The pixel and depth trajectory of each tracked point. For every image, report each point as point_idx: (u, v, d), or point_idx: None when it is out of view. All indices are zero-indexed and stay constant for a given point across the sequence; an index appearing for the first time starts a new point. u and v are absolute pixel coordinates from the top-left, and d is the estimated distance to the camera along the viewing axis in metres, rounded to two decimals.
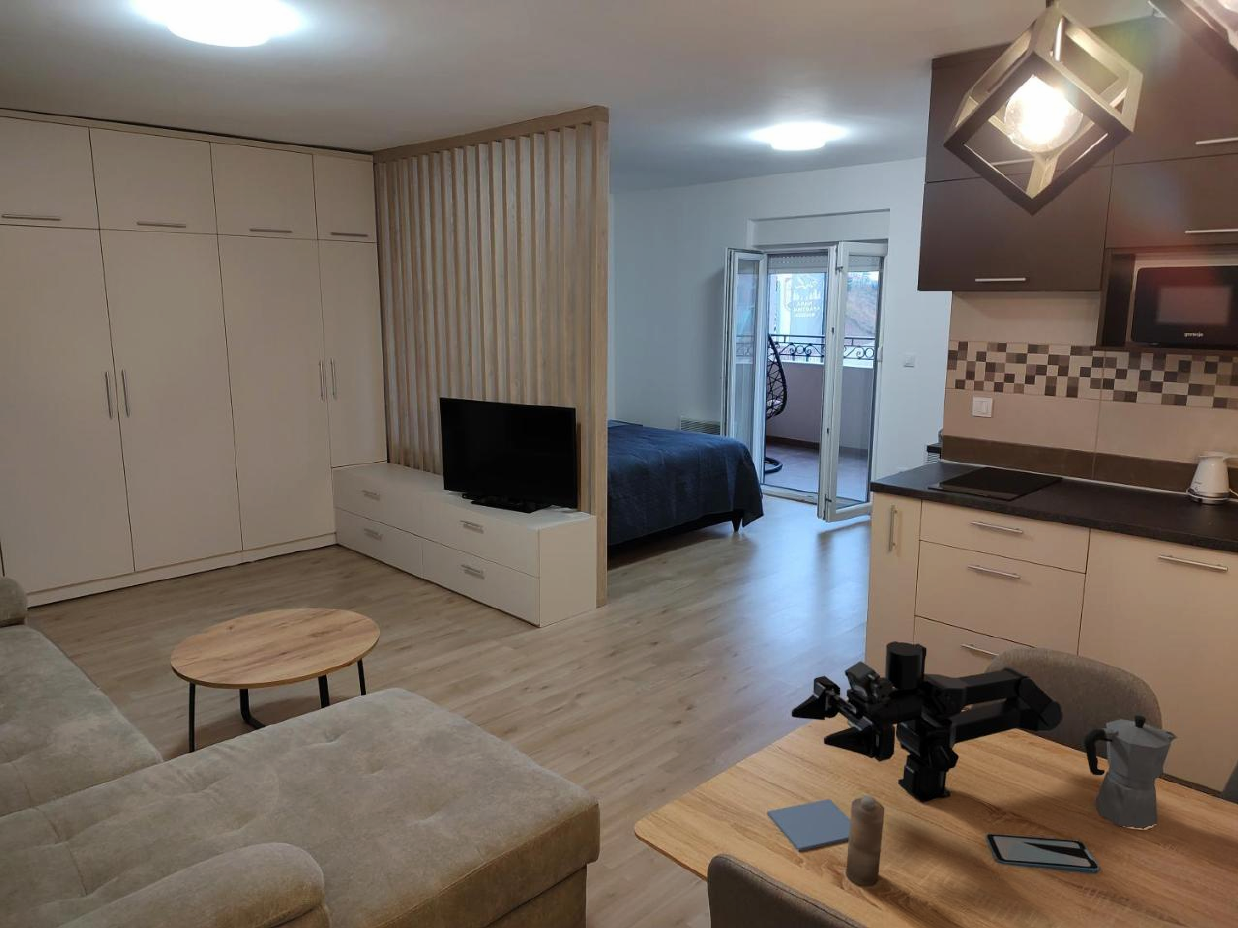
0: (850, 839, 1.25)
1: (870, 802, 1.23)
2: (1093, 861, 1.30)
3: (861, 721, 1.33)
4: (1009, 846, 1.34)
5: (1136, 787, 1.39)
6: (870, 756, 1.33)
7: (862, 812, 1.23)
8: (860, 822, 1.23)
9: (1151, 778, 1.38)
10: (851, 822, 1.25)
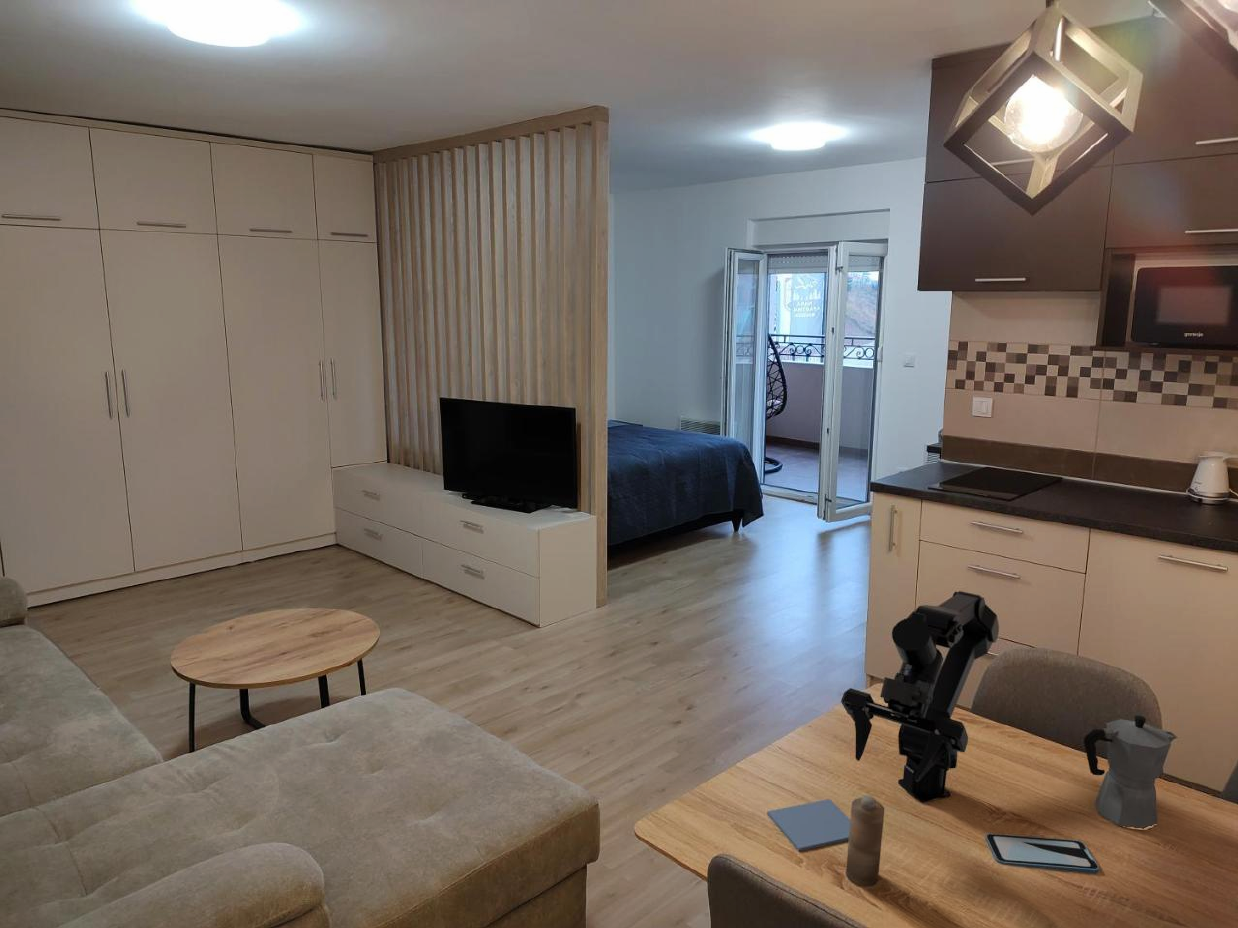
0: (850, 839, 1.25)
1: (870, 802, 1.23)
2: (1093, 861, 1.30)
3: (932, 738, 1.28)
4: (1009, 846, 1.34)
5: (1136, 787, 1.39)
6: (952, 753, 1.30)
7: (862, 812, 1.23)
8: (860, 822, 1.23)
9: (1151, 778, 1.38)
10: (851, 822, 1.25)
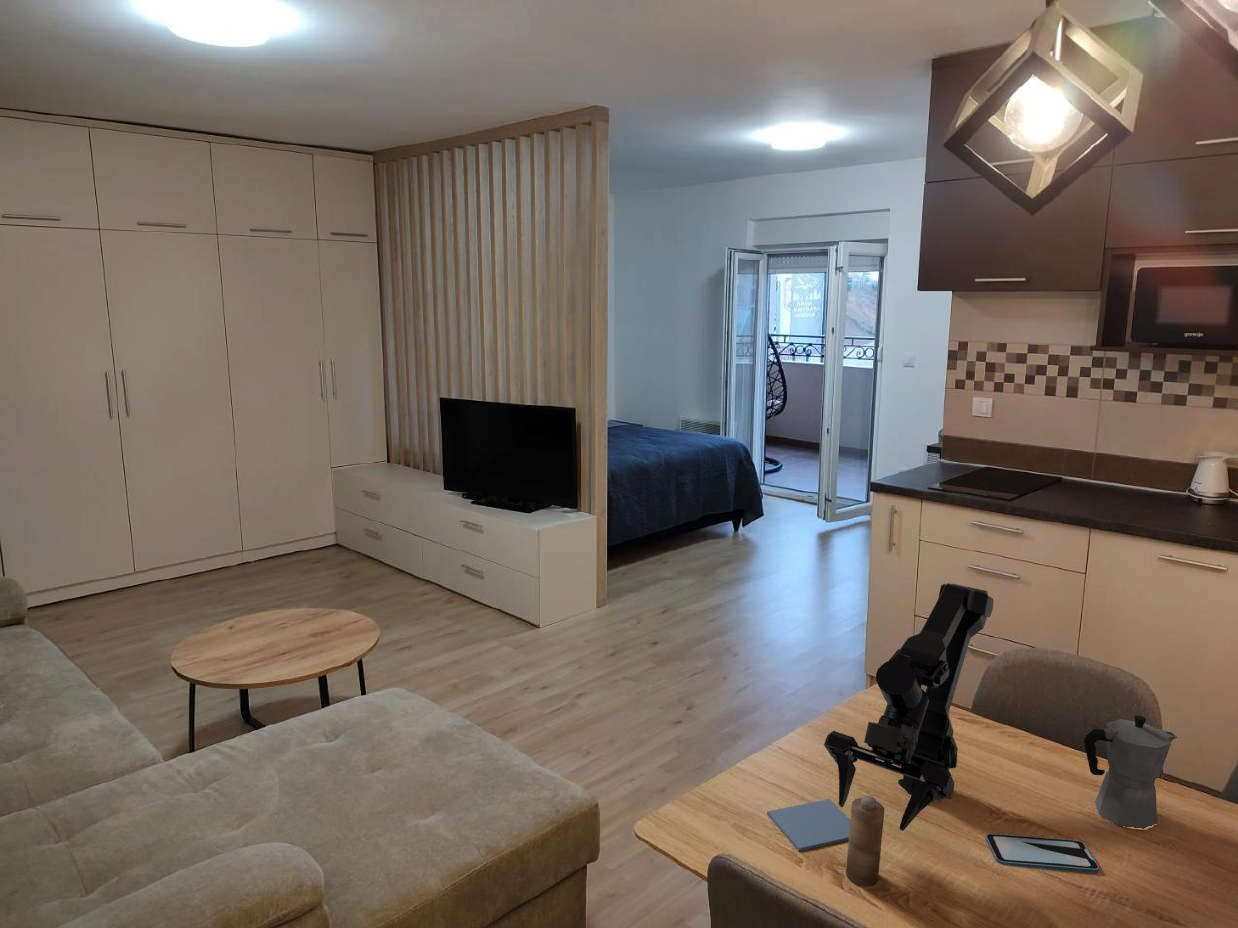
0: (850, 839, 1.25)
1: (870, 802, 1.23)
2: (1093, 861, 1.30)
3: (917, 785, 1.24)
4: (1009, 846, 1.34)
5: (1136, 787, 1.39)
6: (938, 800, 1.26)
7: (862, 812, 1.23)
8: (860, 822, 1.23)
9: (1151, 778, 1.38)
10: (851, 822, 1.25)
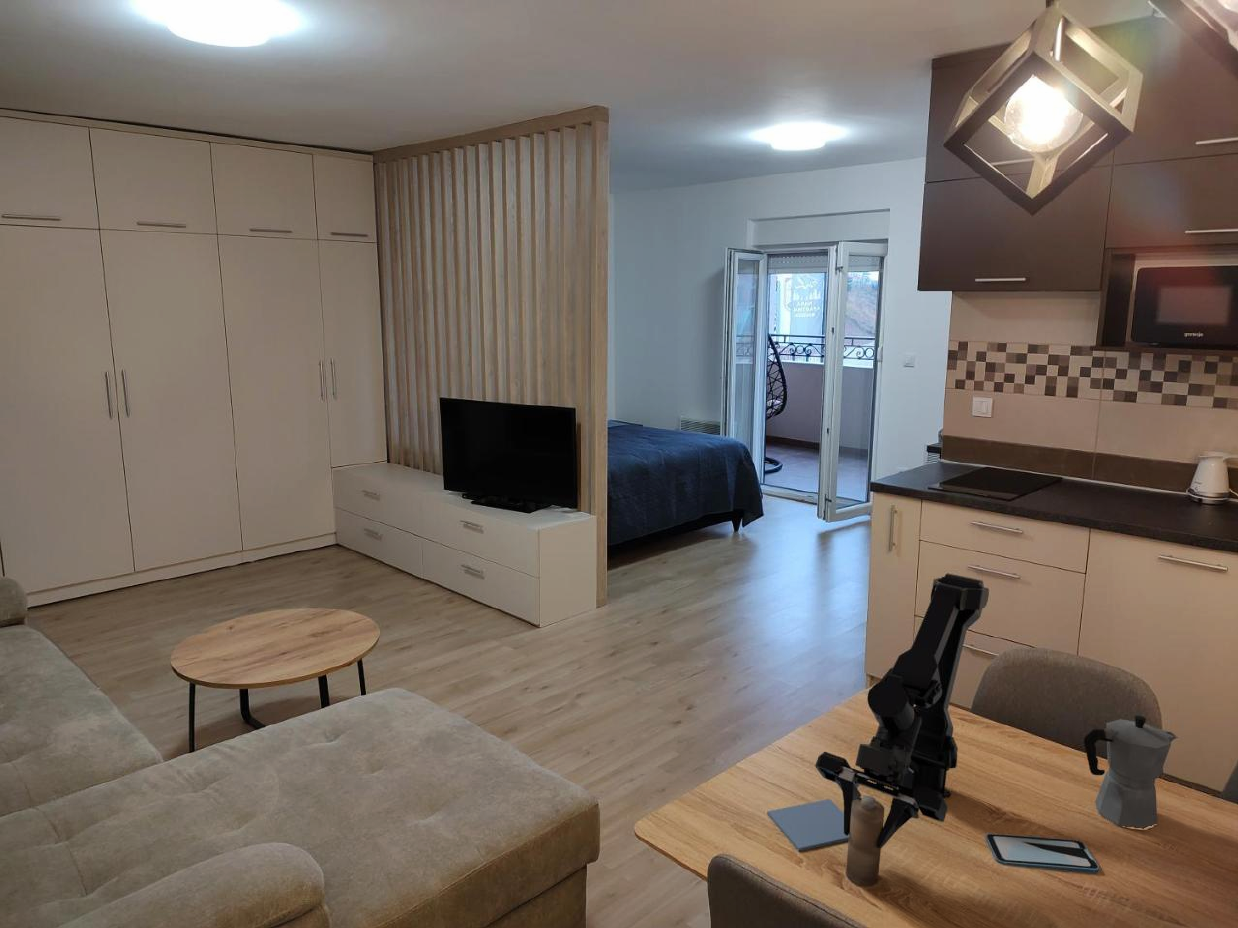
0: (850, 839, 1.25)
1: (870, 802, 1.23)
2: (1093, 861, 1.30)
3: (894, 803, 1.23)
4: (1009, 846, 1.34)
5: (1136, 788, 1.39)
6: (916, 818, 1.25)
7: (862, 812, 1.23)
8: (860, 822, 1.23)
9: (1151, 778, 1.38)
10: (851, 822, 1.25)
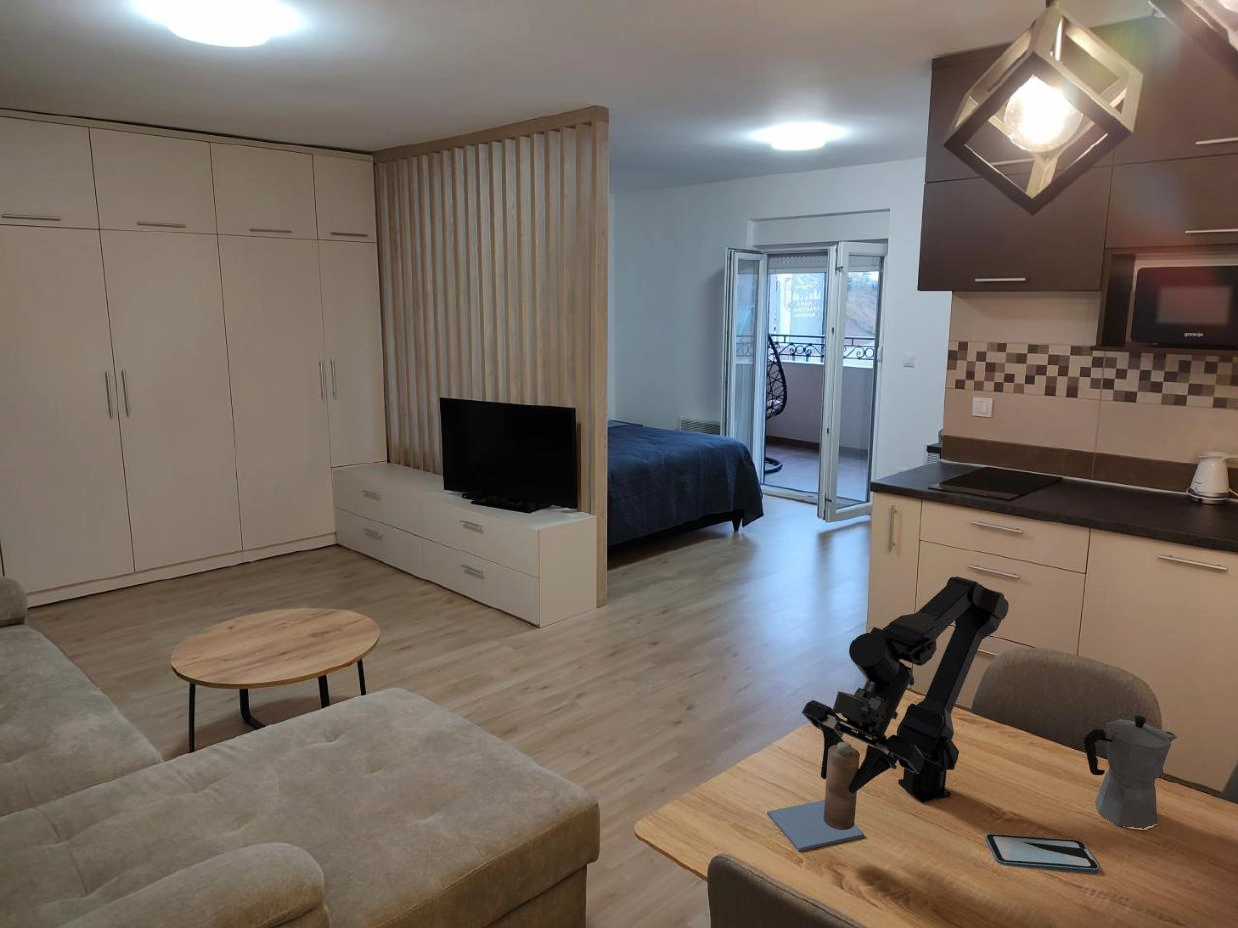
0: (826, 782, 1.29)
1: (845, 747, 1.27)
2: (1093, 861, 1.30)
3: (869, 751, 1.26)
4: (1009, 846, 1.34)
5: (1136, 788, 1.39)
6: (893, 768, 1.28)
7: (836, 757, 1.27)
8: (833, 765, 1.27)
9: (1151, 778, 1.38)
10: (827, 766, 1.29)
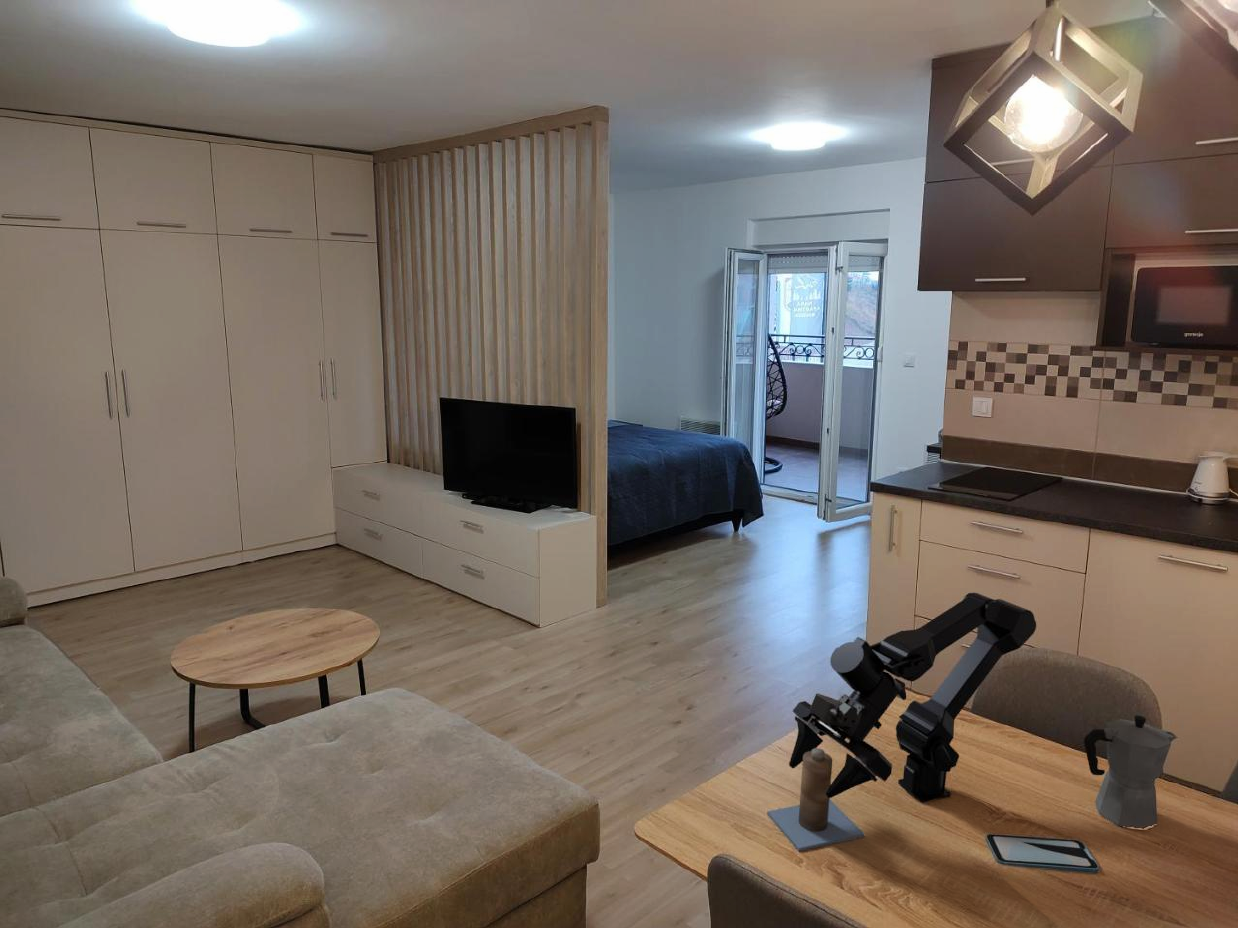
0: None
1: (817, 753, 1.35)
2: (1093, 860, 1.30)
3: (847, 759, 1.31)
4: (1009, 846, 1.34)
5: (1136, 788, 1.39)
6: (874, 780, 1.32)
7: (807, 760, 1.35)
8: (804, 768, 1.36)
9: (1151, 778, 1.38)
10: None
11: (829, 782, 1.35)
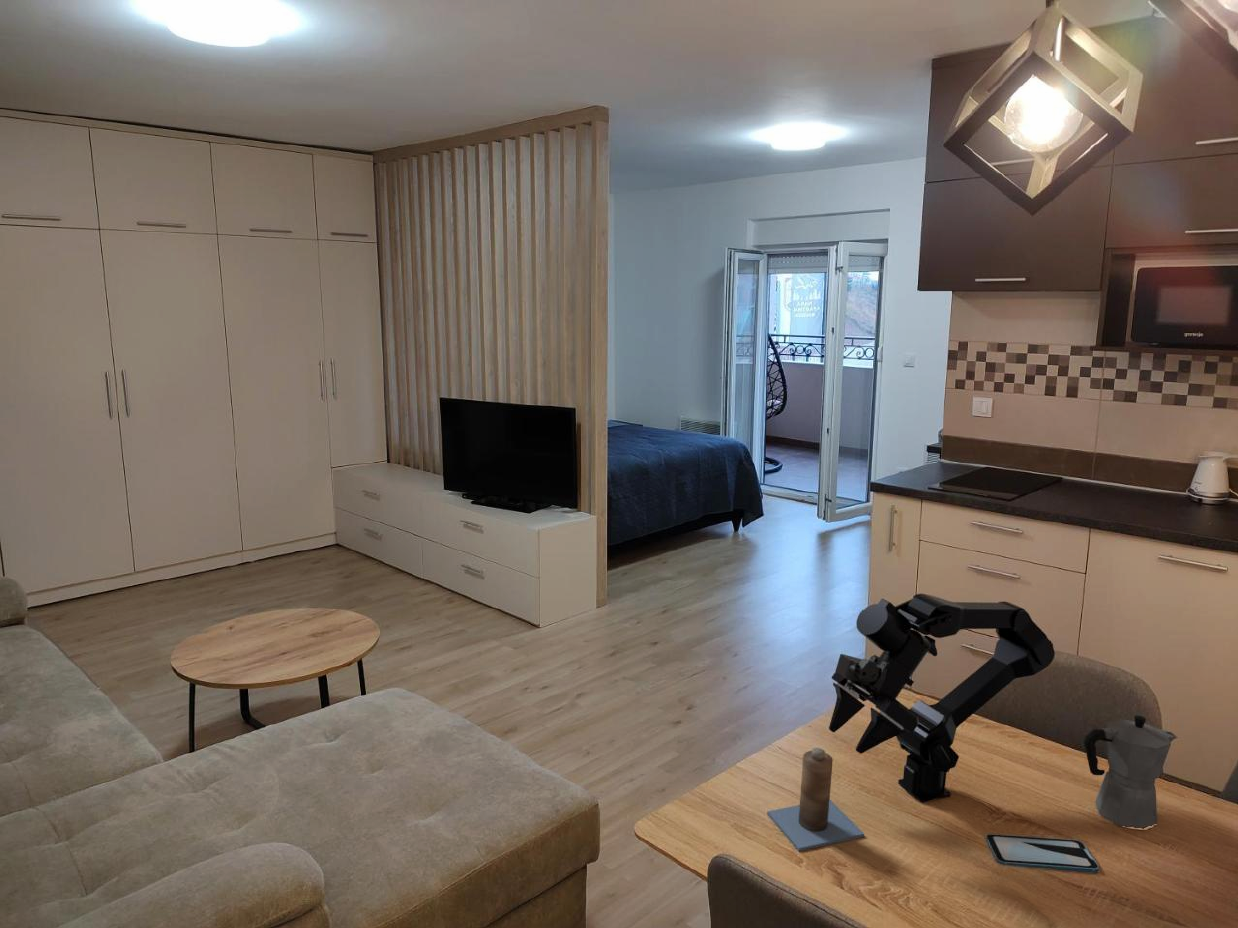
0: (801, 784, 1.38)
1: (818, 753, 1.35)
2: (1093, 860, 1.30)
3: (872, 713, 1.34)
4: (1009, 846, 1.34)
5: (1136, 788, 1.39)
6: (902, 733, 1.33)
7: (807, 760, 1.35)
8: (805, 768, 1.36)
9: (1151, 778, 1.38)
10: None
11: (829, 782, 1.35)
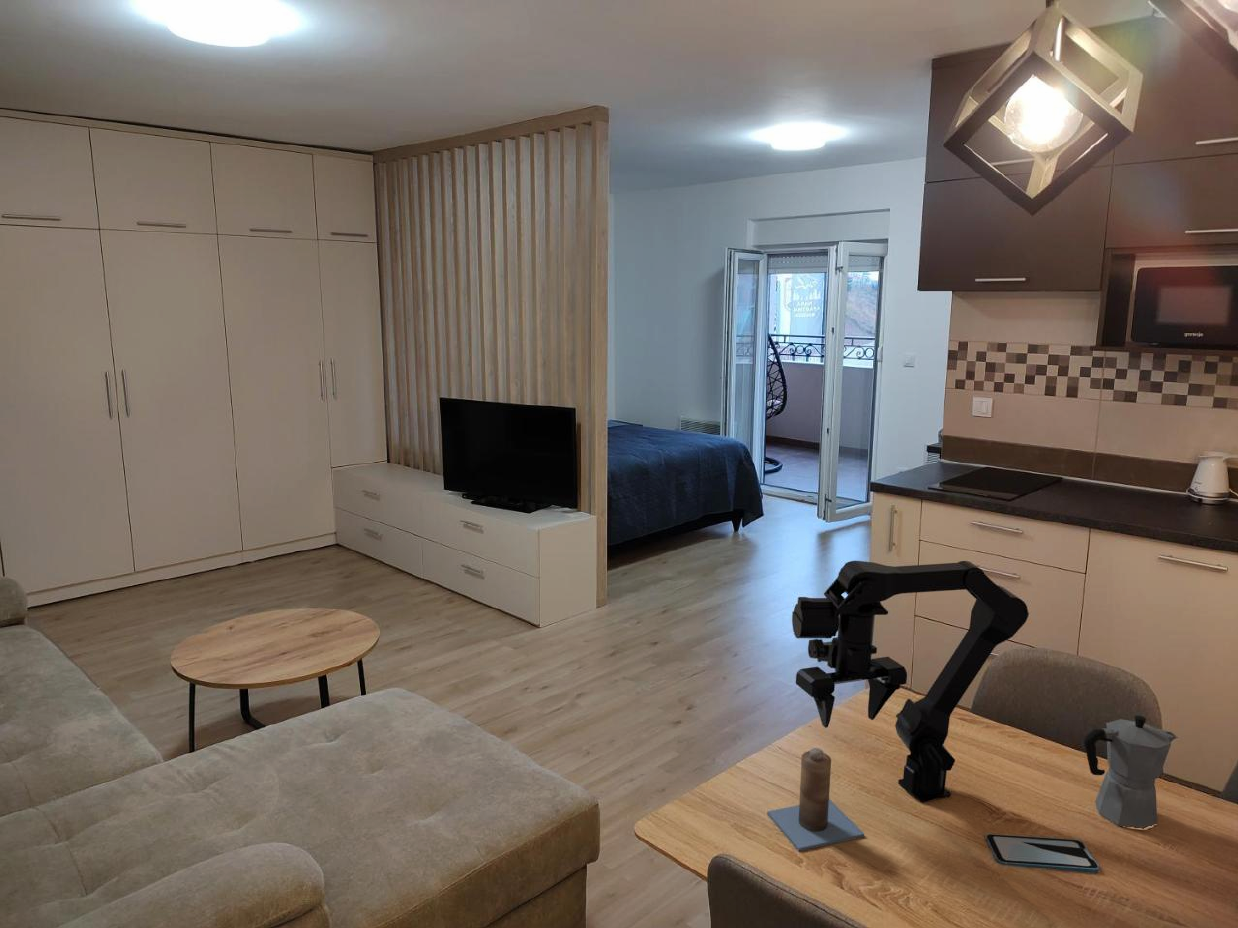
0: None
1: (816, 753, 1.35)
2: (1093, 860, 1.30)
3: None
4: (1009, 846, 1.34)
5: (1136, 788, 1.39)
6: (819, 700, 1.40)
7: (806, 760, 1.35)
8: (803, 768, 1.36)
9: (1151, 778, 1.38)
10: None
11: (828, 782, 1.35)
